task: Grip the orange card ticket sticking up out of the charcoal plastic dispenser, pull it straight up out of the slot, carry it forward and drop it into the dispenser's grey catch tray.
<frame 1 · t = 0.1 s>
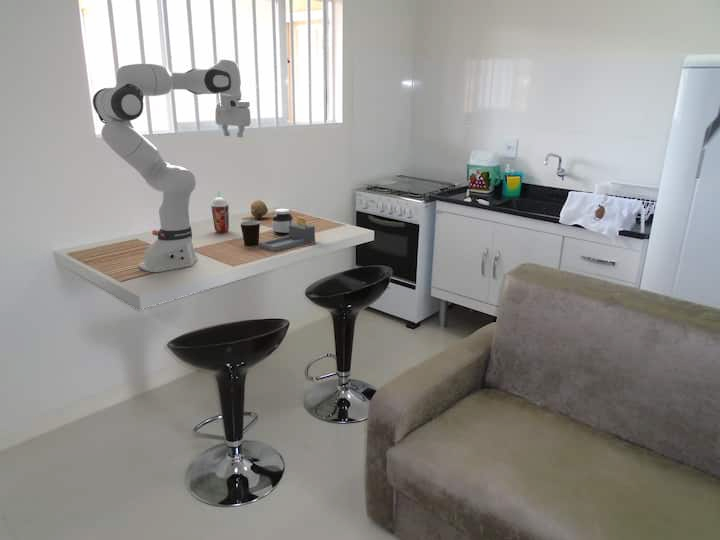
hand: (233, 136, 225), 48 cm above the worktop, fingers open, 8 cm apart
ticket: (302, 236, 249), point 2 cm above the worktop, touching dispenser
smoothie: (222, 232, 266), on the worktop
spread jar: (281, 232, 264), on the worktop
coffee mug: (252, 243, 245), on the worktop
natural sponge: (259, 218, 294), on the worktop
dispenser: (296, 242, 247), on the worktop
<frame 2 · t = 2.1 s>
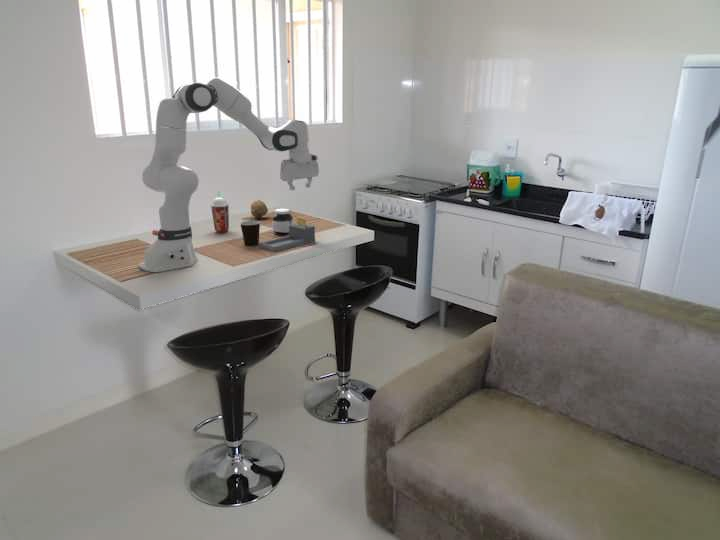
hand: (300, 188, 242), 24 cm above the worktop, fingers open, 8 cm apart
nothing on the worktop moved.
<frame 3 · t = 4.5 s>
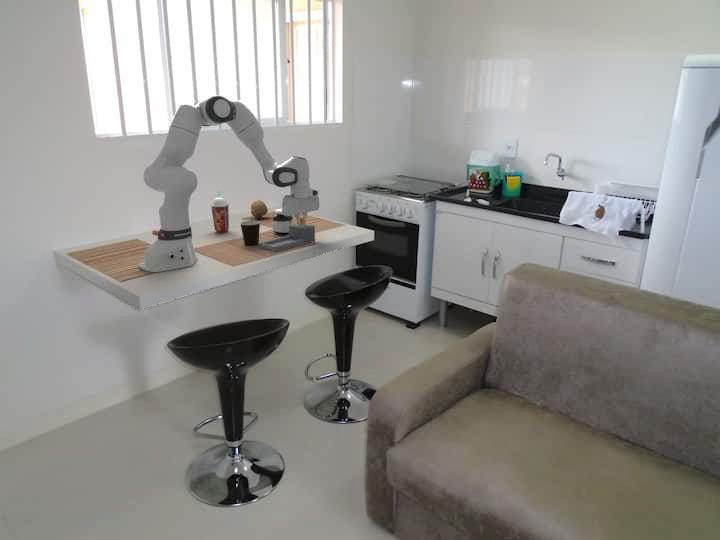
hand: (301, 222, 247), 9 cm above the worktop, fingers closed on ticket, 1 cm apart
ticket: (302, 236, 249), point 2 cm above the worktop, touching gripper
everything else where it was.
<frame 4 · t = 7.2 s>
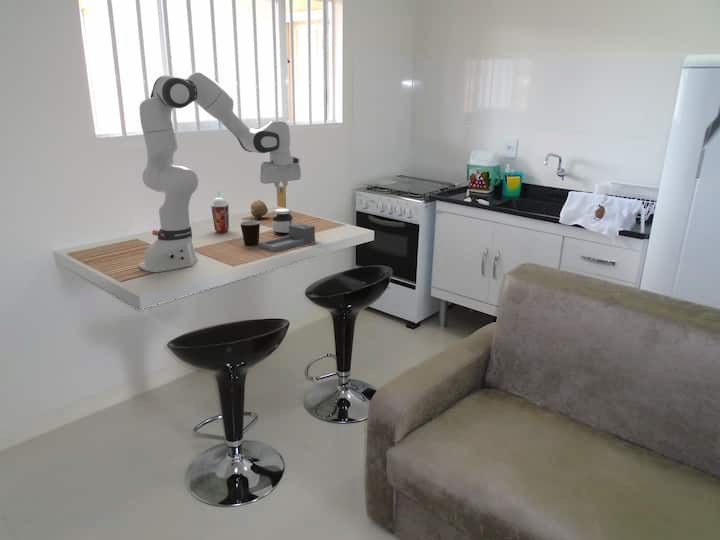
hand: (281, 192, 234), 24 cm above the worktop, fingers closed on ticket
ticket: (281, 206, 236), point 18 cm above the worktop, touching gripper
everything else where it was.
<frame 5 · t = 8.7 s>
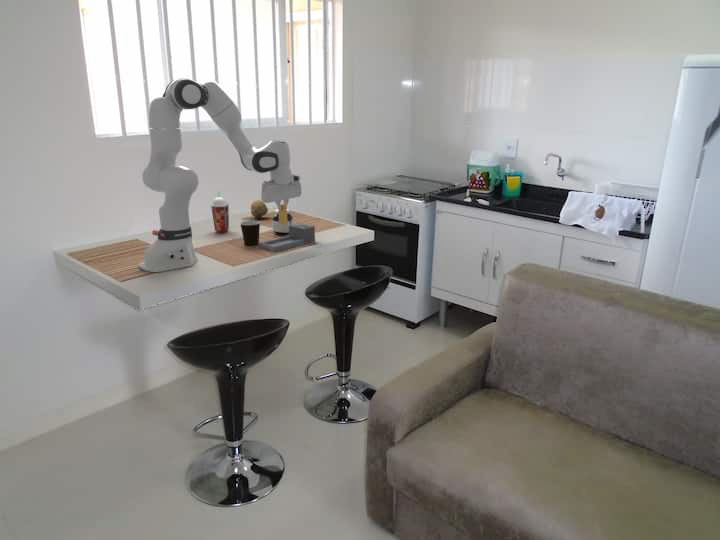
hand: (282, 209, 237), 16 cm above the worktop, fingers closed on ticket
ticket: (283, 224, 239), point 10 cm above the worktop, touching gripper
everything else where it was.
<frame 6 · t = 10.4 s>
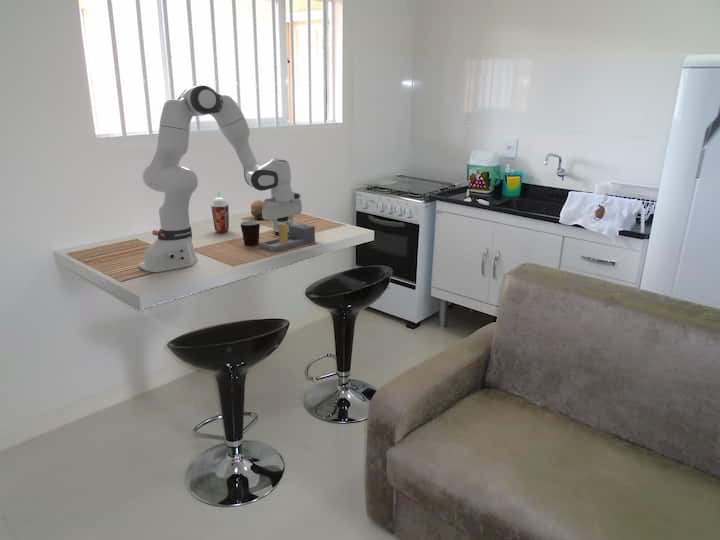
hand: (283, 226, 239), 9 cm above the worktop, fingers open, 5 cm apart
ticket: (283, 243, 242), point 1 cm above the worktop, touching dispenser
everything else where it was.
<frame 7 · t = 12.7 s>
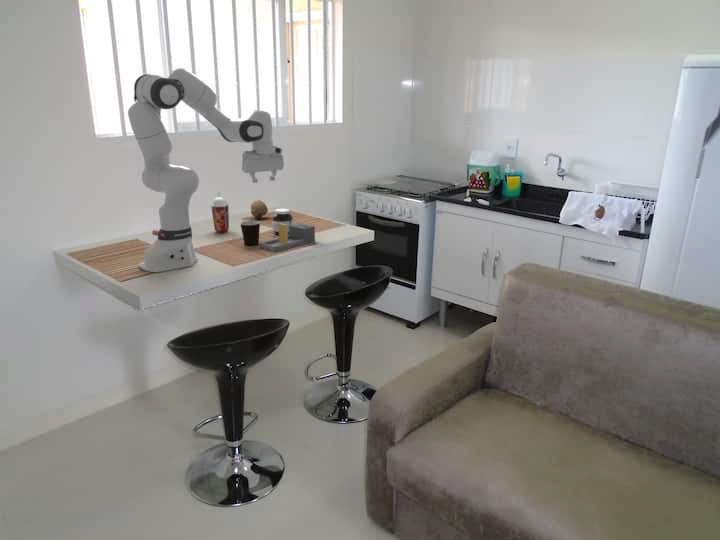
hand: (263, 181, 236), 28 cm above the worktop, fingers open, 8 cm apart
nothing on the worktop moved.
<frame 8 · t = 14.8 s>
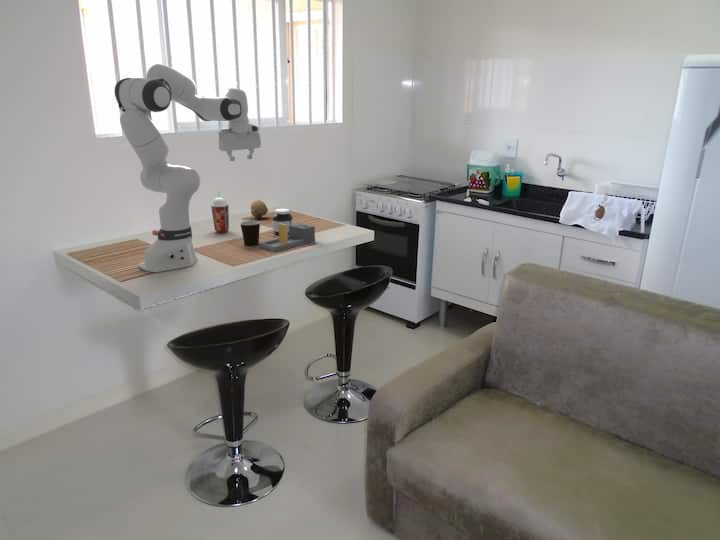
hand: (241, 160, 238), 37 cm above the worktop, fingers open, 8 cm apart
nothing on the worktop moved.
at the end: ticket inside the target area on the dispenser (1.0 cm from its centre), point 0.8 cm above the dispenser's base; ticket moved 11.1 cm from its start; the gripper is holding nothing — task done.
